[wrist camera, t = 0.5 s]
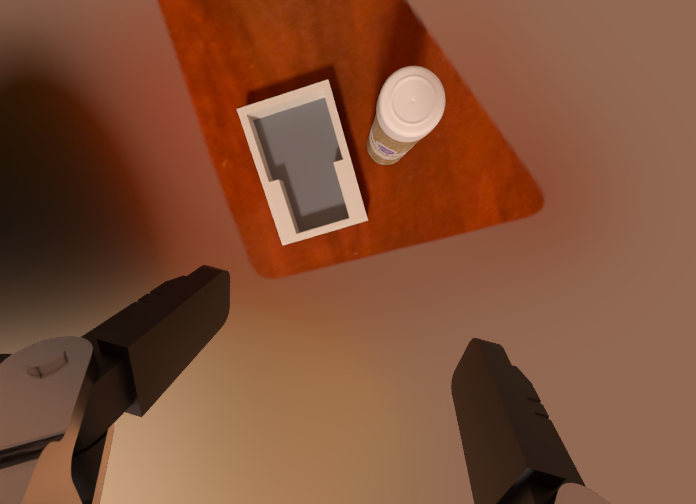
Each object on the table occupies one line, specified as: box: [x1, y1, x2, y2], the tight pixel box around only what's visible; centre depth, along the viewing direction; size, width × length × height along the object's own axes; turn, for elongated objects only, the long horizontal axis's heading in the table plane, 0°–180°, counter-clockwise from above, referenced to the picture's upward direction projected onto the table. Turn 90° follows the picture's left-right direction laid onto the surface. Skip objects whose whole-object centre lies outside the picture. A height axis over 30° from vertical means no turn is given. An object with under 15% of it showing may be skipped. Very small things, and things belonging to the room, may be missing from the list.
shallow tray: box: [237, 80, 368, 245], centre depth 31 cm, size 15×10×2 cm, turn 16°
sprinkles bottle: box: [367, 66, 445, 165], centre depth 25 cm, size 5×5×14 cm
